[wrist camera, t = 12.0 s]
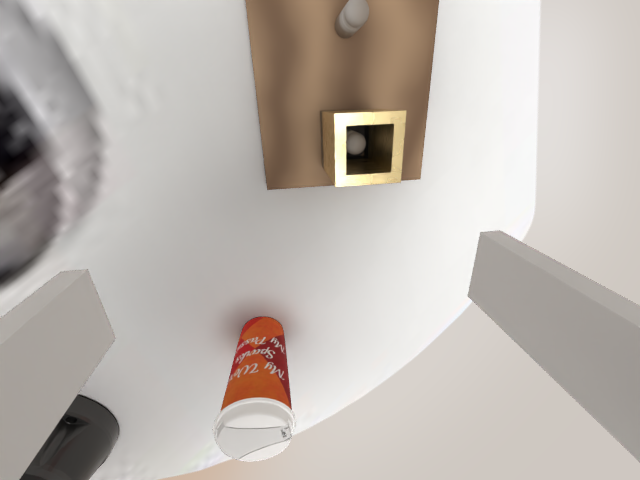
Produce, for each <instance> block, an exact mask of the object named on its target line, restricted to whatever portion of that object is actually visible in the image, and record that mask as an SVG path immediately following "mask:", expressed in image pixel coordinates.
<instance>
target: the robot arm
mask: <svg viewBox="0 0 640 480" xmlns="http://www.w3.org/2000/svg"><path fill="white" fill-rule="evenodd" d="M468 297H469V298H470V299H471V300H472V301H473V302H474V303H476V305H478V307H480V308H481V309H482V310H483V311H484V312H485V313H486V314H487V315H488V316H489V317H490V318H491V319H492V320H493V321H494V322H495V323H496V324H497V325H498V326H499V327H500V328H501V329H502V330H503V331H504V332H505V333H506V334H507V335H509V336H510V337H511V338H512V339H513V340H514V341H515V342H516V343H517V344H518V345H519V346H520V347H521V348H522V349H523V350H524V351H525V352H526V353H527V354H528V355H529V356H530V357H531V358H532V359H533V360H534V361H535V362H536V363H538V364H539V365H540V366H541V367H542V368H543V369H544V370H545V371H546V372H547V373H548V374H549V375H550V376H551V377H552V378H553V379H554V380H555V381H556V382H557V383H558V384H559V385H560V386H561V387H562V388H563V389H564V390H565V391H566V392H568V393H569V394H570V395H571V396H572V397H573V398H574V399H575V400H576V401H577V402H578V403H579V404H580V405H581V406H582V407H583V408H584V409H585V410H586V411H587V412H588V413H589V414H590V415H591V416H592V417H593V418H594V419H596V420H597V421H598V422H599V423H600V424H601V425H602V426H603V427H604V428H605V429H606V430H607V431H608V432H609V433H610V434H611V435H612V436H613V437H614V438H615V439H616V440H617V441H618V442H619V443H620V444H621V445H622V446H624V447H625V448H626V449H627V450H628V451H629V452H630V453H631V454H632V455H633V456H634V457H635V458H636V459H637V460H638V461H639V462H640V306H639V305H638V304H636V303H633V302H632V301H630V300H628V299H626V298H624V297H623V296H621V295H619V294H617V293H615V292H613V291H612V290H609V289H608V288H606V287H604V286H602V285H600V284H599V283H597V282H595V281H593V280H591V279H589V278H587V277H586V276H584V275H581V274H580V273H578V272H576V271H574V270H573V269H571V268H569V267H567V266H565V265H563V264H561V263H559V262H558V261H556V260H554V259H552V258H550V257H548V256H546V255H545V254H543V253H541V252H539V251H537V250H535V249H534V248H532V247H530V246H528V245H526V244H524V243H522V242H521V241H519V240H517V239H515V238H513V237H511V236H509V235H508V234H506V233H504V232H502V231H489V232H480V237H479V242H478V247H477V252H476V257H475V262H474V267H473V272H472V277H471V282H470V287H469V292H468ZM115 339H116V337H115V335H114V332H113V330H112V328H111V325H110V323H109V320H108V318H107V315H106V313H105V310H104V308H103V306H102V303H101V301H100V298H99V296H98V293H97V291H96V288H95V286H94V284H93V281H92V279H91V276H90V274H89V271H88V269H86V270H75V271H65V272H60V273H59V274H57V275H56V276H55V277H53V278H52V279H51V280H50V281H48V282H47V283H46V284H44V285H43V286H42V287H40V288H39V289H38V290H37V291H35V292H34V293H33V294H31V295H30V296H29V297H27V298H26V299H25V300H24V301H22V302H21V303H20V304H18V305H17V306H16V307H14V308H13V309H12V310H11V311H9V312H8V313H7V314H5V315H4V316H3V317H1V318H0V480H89V479H90V477H91V476H92V475H93V474H94V473H95V471H96V470H97V469H98V468H99V467H100V466H101V465H102V464H103V463H104V462H105V461H106V459H107V458H108V456H109V455H110V453H111V451H112V449H113V447H114V445H115V443H116V441H117V439H118V435H119V428H118V424H117V422H116V420H115V418H114V417H113V416H112V414H111V413H110V412H109V411H107V410H106V409H105V408H104V407H102V406H101V405H99V404H97V403H96V402H94V401H91V400H89V399H87V398H84V397H81V396H77V395H78V393H79V392H80V390H81V389H82V387H83V386H84V384H85V383H86V381H87V380H88V379H89V377H90V376H91V374H92V373H93V371H94V370H95V368H96V367H97V365H98V364H99V362H100V361H101V360H102V358H103V357H104V355H105V354H106V352H107V351H108V349H109V348H110V346H111V345H112V343H113V342H114V340H115Z"/></svg>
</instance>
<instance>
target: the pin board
mask: <svg viewBox="0 0 640 480" xmlns="http://www.w3.org/2000/svg"><path fill="white" fill-rule="evenodd" d="M245 1H246V9H247V18H248V27H249V35H250V44H251V53H252V61H253V70H254V79H255V87H256V96H257V105H258V113H259V122H260V131H261V139H262V148H263V156H264V165H265V174H266V182H267V190H272V189H286V188H301V187H315V186H330V185H334V184H333V182H332V181H331V179H330V178H329V176H328V175H327V173H326V172H325V170H324V169H323V167H322V154H321V125H320V111H332V110H355V109H389V110H406V122H405V135H404V147H403V160H402V173H401V181H402V180H417V179H420V176H421V167H422V157H423V148H424V138H425V129H426V119H427V110H428V100H429V91H430V81H431V72H432V62H433V53H434V43H435V34H436V24H437V15H438V5H439V0H245ZM364 128H365V125H355V126H346V157H348V156H364V148H365V145H366V141H365V138H364Z"/></svg>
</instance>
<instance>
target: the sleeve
mask: <svg viewBox="0 0 640 480" xmlns="http://www.w3.org/2000/svg"><path fill="white" fill-rule="evenodd" d="M405 122H406V110H389V109H355V110H332V111H320V125H321V154H322V167H323V169H324V170H325V172H326V173H327V175H328V176H329V178H330V179H331V181H332V182H333V184H334V185H335V187H342V186H357V185H371V184H386V183H400V182H401V173H402V160H403V147H404V135H405ZM355 125H365V128H364V138H365V141H366V145H365V148H364V156H348V157H346V126H355Z"/></svg>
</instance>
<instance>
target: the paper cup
mask: <svg viewBox="0 0 640 480" xmlns="http://www.w3.org/2000/svg"><path fill="white" fill-rule="evenodd" d="M295 426H296V418H295V415H294V413H293V411H292V408H291V398H290V388H289V377H288V367H287V357H286V347H285V339H284V332H283V328H282V326H281V324H280V323H279V322H278V321H276V320H275V319H273V318H270V317H257V318H254V319H251V320H250V321H248V322H247V323H246V324H245V325H244V327H243V329H242V332H241V335H240V338H239V342H238V346H237V349H236V353H235V357H234V361H233V365H232V369H231V373H230V376H229V380H228V384H227V388H226V392H225V396H224V400H223V404H222V408H221V412H220V413H219V414H218V415H217V417H216V419H215V422H214V426H213V429H212V430H213V434H214V436H215V441H216V443H217V445H218V446H219V447H220V449H221V450H222V452H223V453H225V454H226V455H227V456H229V457H232V458H234V459H236V460H240V461H260V460H265V459H268V458H271V457H273V456H276V455H277V454H279V453H281V452H282V451H283V450H284V449H285V448H286V447H287V446H288V444H289V443H290V440H291V437H292V433H293V431H294V429H295Z"/></svg>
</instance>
